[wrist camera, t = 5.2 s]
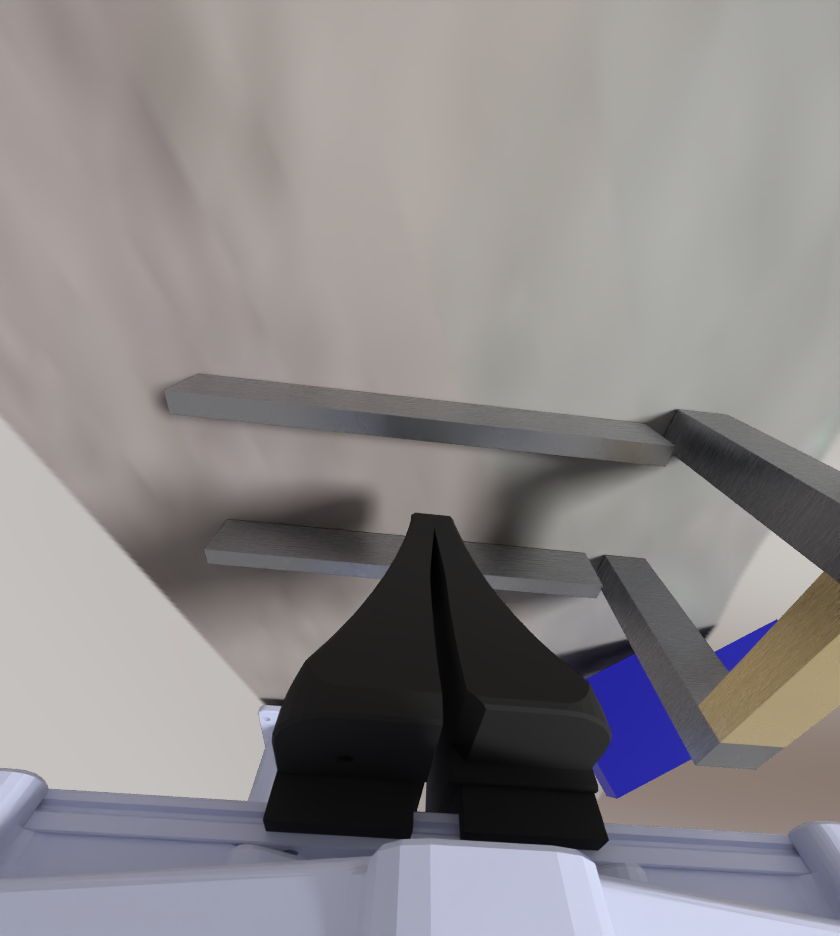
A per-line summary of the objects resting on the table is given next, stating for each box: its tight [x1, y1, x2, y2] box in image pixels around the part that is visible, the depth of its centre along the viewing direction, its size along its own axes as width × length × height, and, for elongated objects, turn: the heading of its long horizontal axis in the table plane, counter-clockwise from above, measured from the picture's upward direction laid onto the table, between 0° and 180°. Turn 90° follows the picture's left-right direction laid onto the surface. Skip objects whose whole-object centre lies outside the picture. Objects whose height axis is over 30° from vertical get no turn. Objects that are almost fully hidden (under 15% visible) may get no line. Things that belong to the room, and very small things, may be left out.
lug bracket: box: [596, 409, 840, 770], centre depth 12 cm, size 9×2×8 cm, turn 174°
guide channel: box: [164, 374, 676, 598], centre depth 15 cm, size 8×17×2 cm, turn 84°
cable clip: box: [585, 620, 778, 798], centre depth 20 cm, size 12×4×6 cm
